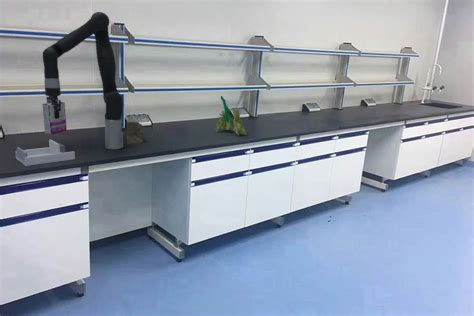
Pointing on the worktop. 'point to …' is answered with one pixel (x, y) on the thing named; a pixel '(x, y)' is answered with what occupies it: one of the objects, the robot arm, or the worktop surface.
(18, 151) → the grey shallow tray
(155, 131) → the worktop surface
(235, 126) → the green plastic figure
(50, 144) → the pusher
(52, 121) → the candy bar box
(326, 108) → the worktop surface
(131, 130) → the stone block
